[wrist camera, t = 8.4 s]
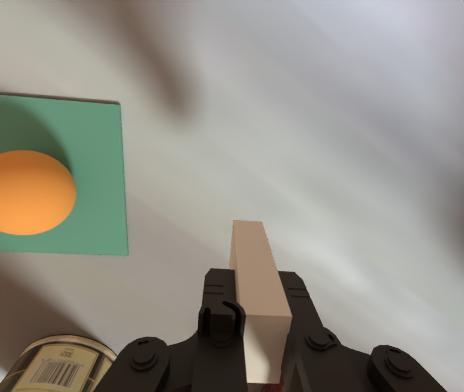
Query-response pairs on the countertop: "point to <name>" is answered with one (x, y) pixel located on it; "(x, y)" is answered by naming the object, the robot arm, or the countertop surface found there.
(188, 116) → the countertop surface
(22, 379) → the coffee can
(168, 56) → the countertop surface
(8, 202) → the ball
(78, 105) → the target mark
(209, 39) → the countertop surface
